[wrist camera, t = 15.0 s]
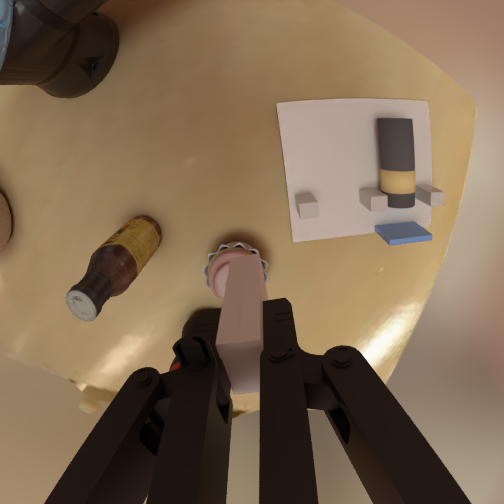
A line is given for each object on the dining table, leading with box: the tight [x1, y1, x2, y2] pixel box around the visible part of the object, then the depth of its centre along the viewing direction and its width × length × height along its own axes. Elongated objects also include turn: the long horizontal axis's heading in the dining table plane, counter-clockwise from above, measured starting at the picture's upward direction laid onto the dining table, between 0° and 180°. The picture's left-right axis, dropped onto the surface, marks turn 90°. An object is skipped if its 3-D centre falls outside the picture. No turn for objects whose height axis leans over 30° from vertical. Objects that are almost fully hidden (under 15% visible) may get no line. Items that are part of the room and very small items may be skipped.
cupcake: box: [202, 241, 269, 300], centre depth 41 cm, size 9×9×10 cm
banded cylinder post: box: [377, 118, 416, 209], centre depth 35 cm, size 12×5×5 cm, turn 8°
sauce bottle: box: [66, 217, 161, 322], centre depth 35 cm, size 7×6×20 cm
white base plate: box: [276, 98, 444, 245], centre depth 36 cm, size 20×23×7 cm
